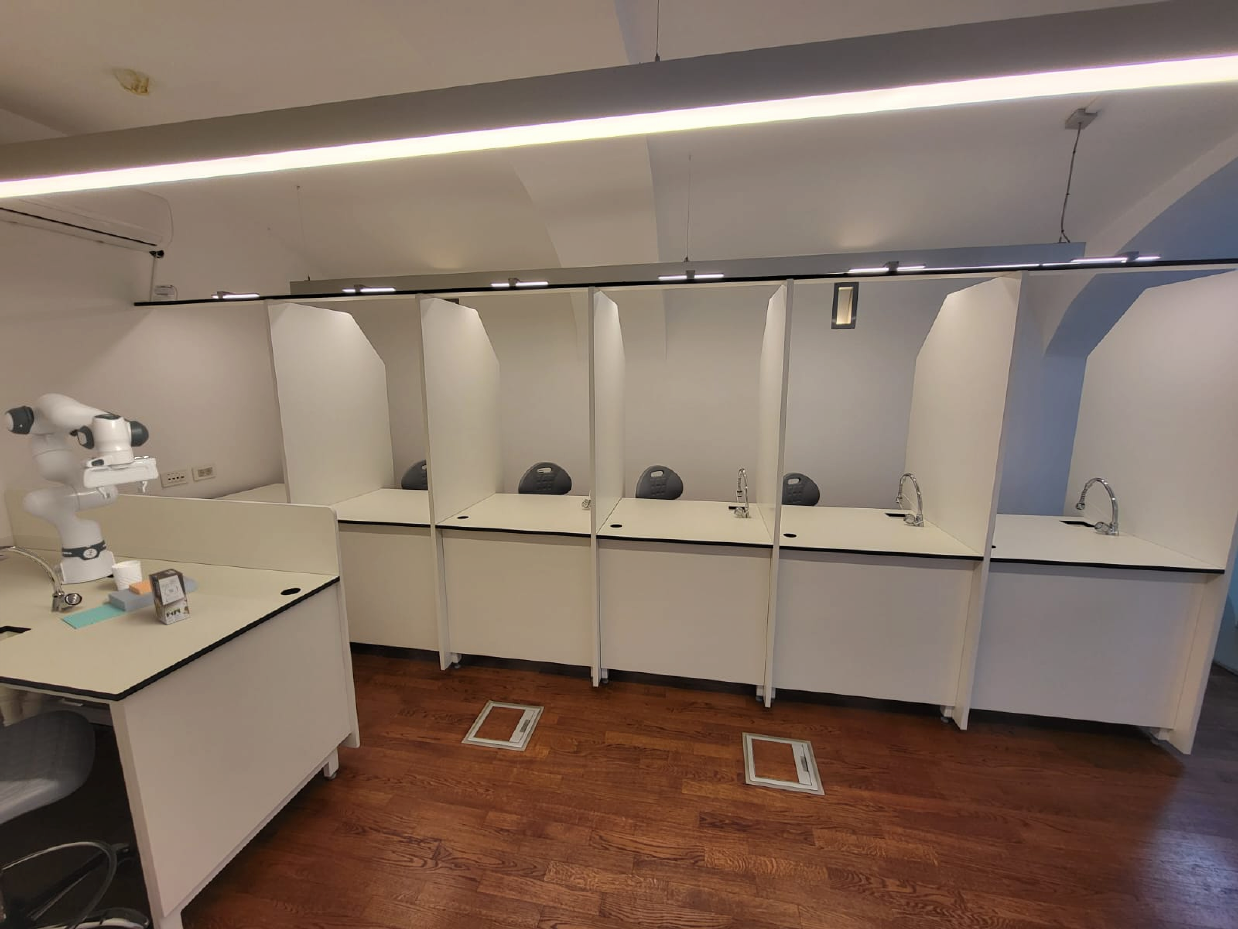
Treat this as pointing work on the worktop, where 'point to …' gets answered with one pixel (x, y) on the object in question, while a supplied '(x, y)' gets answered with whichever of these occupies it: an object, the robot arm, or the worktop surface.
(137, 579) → the white cup
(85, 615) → the mat
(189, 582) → the gray block
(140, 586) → the orange block
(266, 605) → the worktop surface
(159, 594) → the coffee box
